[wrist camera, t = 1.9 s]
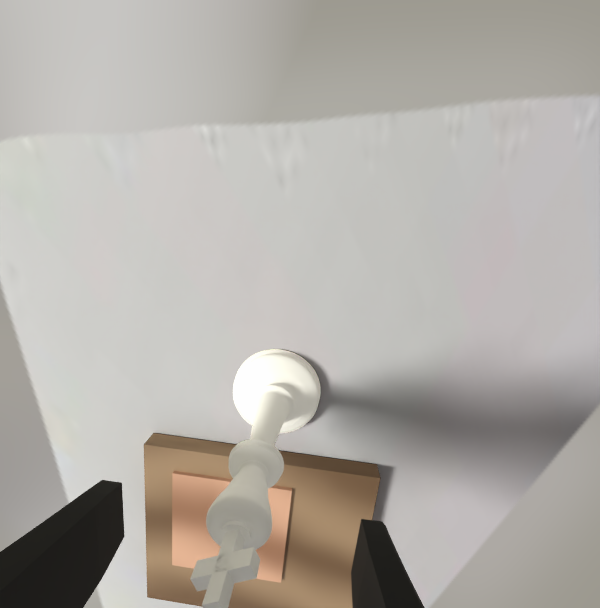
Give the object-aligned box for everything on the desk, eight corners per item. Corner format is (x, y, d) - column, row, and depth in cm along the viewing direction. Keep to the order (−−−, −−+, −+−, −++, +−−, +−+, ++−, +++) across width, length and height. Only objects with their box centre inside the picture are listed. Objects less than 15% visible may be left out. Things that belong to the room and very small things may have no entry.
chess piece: (333, 413, 16) (351, 666, 7) (255, 436, 17) (169, 696, 7) (302, 336, 16) (270, 499, 6) (221, 364, 16) (73, 552, 7)
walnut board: (347, 611, 20) (349, 635, 19) (155, 580, 20) (145, 600, 19) (376, 464, 17) (381, 481, 16) (153, 433, 18) (141, 446, 16)
